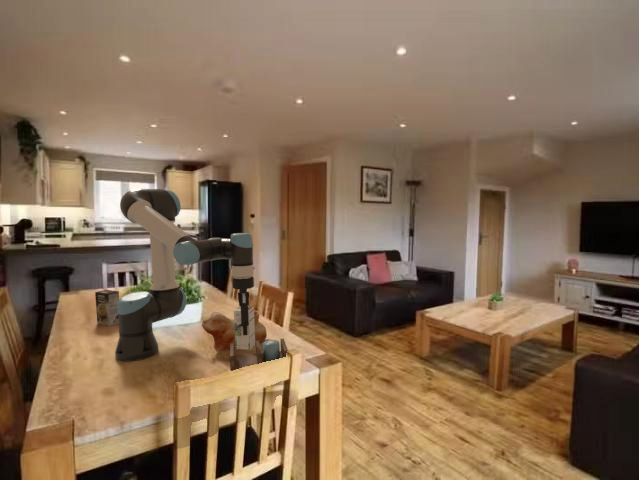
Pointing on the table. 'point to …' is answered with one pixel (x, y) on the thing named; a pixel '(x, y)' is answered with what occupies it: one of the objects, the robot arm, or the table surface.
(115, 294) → the coffee box
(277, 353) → the grey-blue rounded cube
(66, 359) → the table surface
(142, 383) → the table surface
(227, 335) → the ceramic vessel
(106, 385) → the table surface
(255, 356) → the slot rack
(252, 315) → the syrup box
